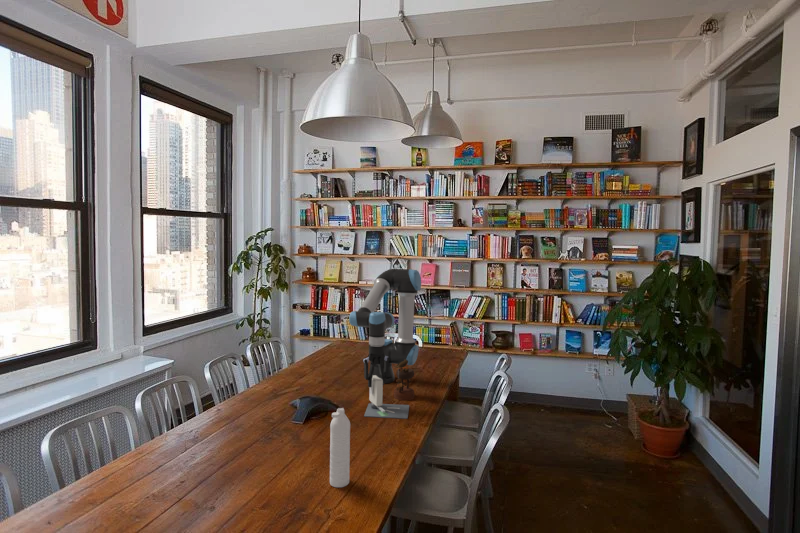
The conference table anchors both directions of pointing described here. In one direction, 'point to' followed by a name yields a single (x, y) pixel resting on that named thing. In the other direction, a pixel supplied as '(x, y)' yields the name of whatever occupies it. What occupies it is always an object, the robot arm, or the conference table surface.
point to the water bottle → (339, 449)
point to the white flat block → (376, 393)
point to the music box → (404, 382)
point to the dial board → (388, 411)
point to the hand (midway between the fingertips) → (375, 392)
